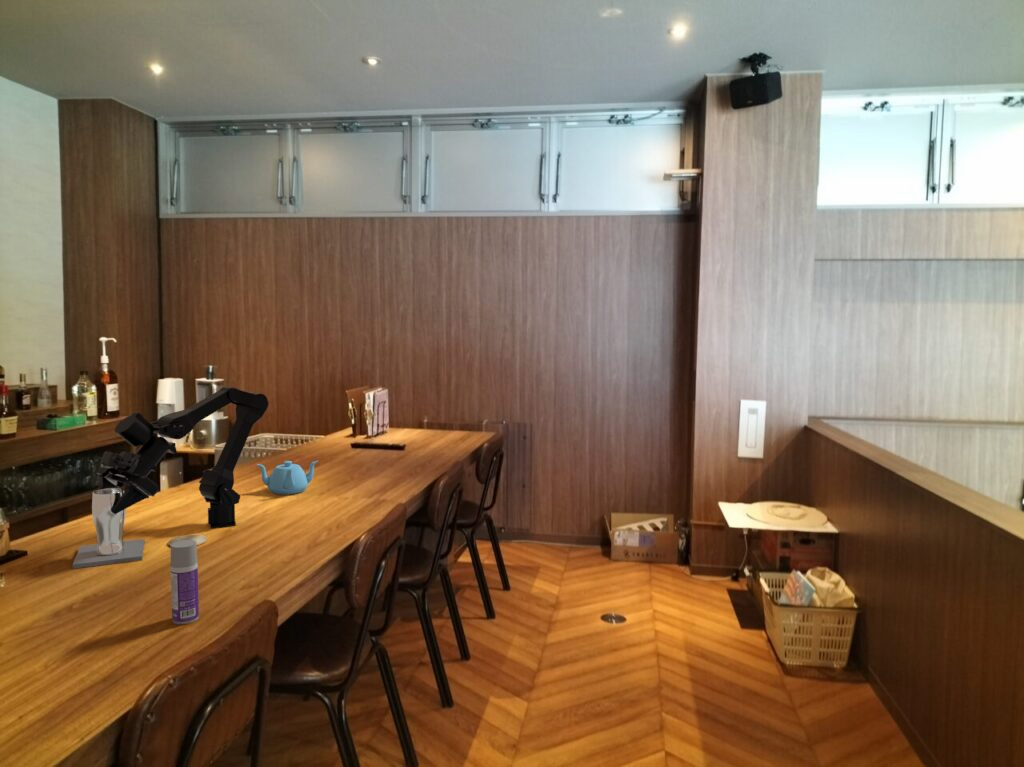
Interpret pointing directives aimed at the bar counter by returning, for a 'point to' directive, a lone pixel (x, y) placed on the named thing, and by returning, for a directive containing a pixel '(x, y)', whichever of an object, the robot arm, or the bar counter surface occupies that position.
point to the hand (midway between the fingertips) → (103, 510)
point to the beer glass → (108, 521)
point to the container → (184, 582)
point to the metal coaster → (198, 538)
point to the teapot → (287, 478)
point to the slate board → (90, 558)
